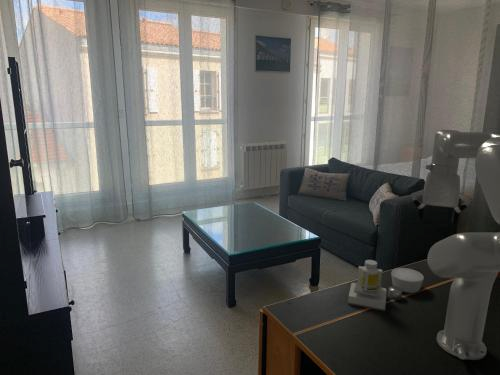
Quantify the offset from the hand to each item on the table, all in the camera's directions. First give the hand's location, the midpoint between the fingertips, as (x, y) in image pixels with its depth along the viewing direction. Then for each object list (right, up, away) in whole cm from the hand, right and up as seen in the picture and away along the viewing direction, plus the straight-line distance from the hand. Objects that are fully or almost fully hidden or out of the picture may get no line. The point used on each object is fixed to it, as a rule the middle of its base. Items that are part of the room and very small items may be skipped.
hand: (436, 221), depth 122 cm
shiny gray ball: (-9, -28, +13) cm, 32 cm away
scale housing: (-19, -28, +10) cm, 36 cm away
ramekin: (-2, -27, +20) cm, 33 cm away
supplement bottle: (-20, -24, +8) cm, 32 cm away
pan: (-20, -26, +9) cm, 33 cm away
